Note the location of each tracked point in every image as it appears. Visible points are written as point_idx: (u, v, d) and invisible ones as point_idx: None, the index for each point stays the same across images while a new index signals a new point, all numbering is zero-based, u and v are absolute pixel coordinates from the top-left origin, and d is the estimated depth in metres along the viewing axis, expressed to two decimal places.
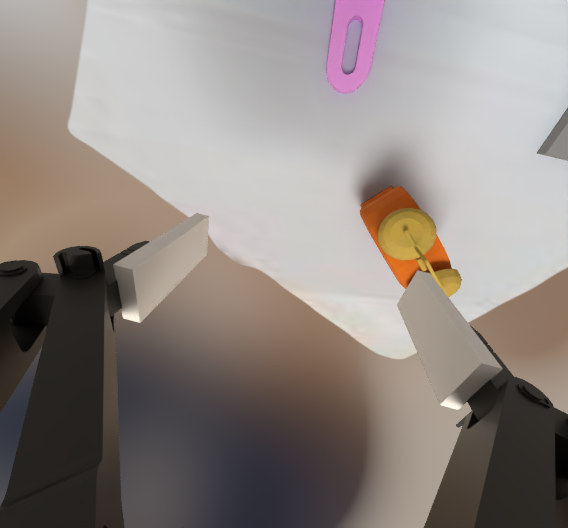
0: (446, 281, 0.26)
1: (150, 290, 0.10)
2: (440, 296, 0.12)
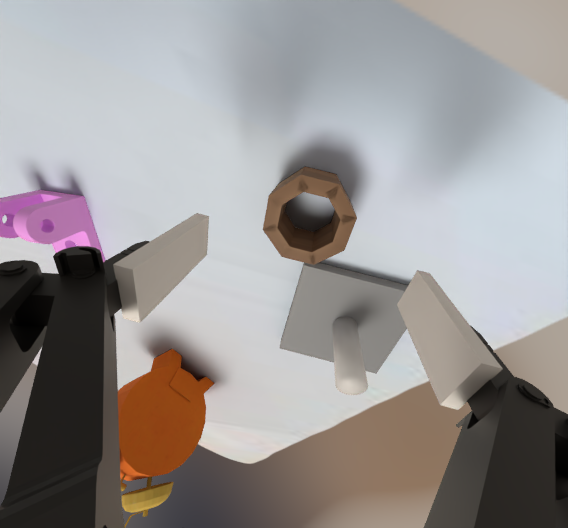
0: (134, 506, 0.28)
1: (150, 290, 0.10)
2: (440, 296, 0.12)
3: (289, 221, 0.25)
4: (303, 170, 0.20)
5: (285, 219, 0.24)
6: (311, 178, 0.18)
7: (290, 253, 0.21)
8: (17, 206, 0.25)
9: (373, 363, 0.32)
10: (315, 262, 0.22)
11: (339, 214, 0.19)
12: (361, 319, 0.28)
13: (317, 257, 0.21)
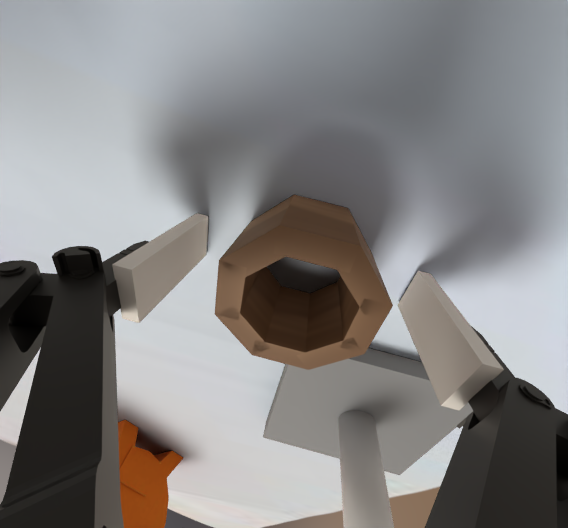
0: None
1: (149, 290, 0.10)
2: (441, 296, 0.12)
3: (270, 279, 0.15)
4: (288, 208, 0.11)
5: (262, 280, 0.14)
6: (301, 233, 0.09)
7: (266, 351, 0.12)
8: None
9: (396, 464, 0.22)
10: (311, 367, 0.12)
11: (357, 298, 0.10)
12: (382, 415, 0.19)
13: (315, 360, 0.12)
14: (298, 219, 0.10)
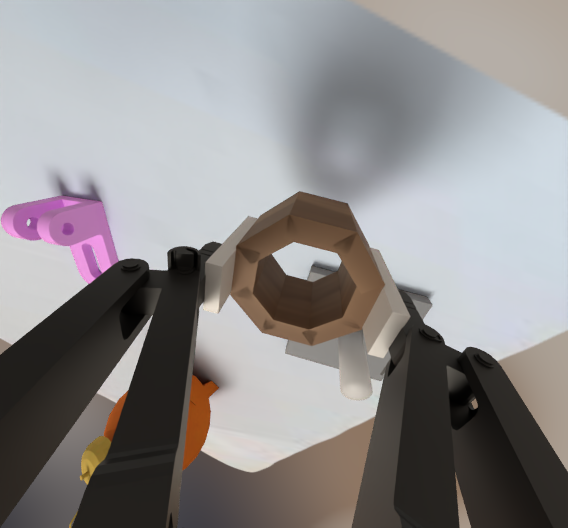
0: None
1: (226, 285, 0.11)
2: (380, 266, 0.13)
3: (277, 268, 0.17)
4: (295, 201, 0.12)
5: (270, 268, 0.16)
6: (307, 221, 0.10)
7: (275, 328, 0.14)
8: (40, 210, 0.26)
9: (378, 370, 0.32)
10: (314, 343, 0.14)
11: (355, 278, 0.11)
12: None
13: (318, 336, 0.13)
14: (304, 210, 0.11)
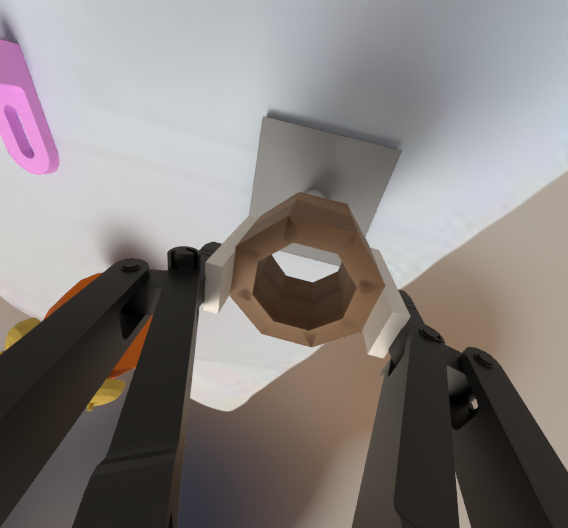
0: None
1: (226, 285, 0.11)
2: (380, 266, 0.13)
3: (276, 269, 0.17)
4: (295, 202, 0.12)
5: (270, 269, 0.16)
6: (307, 221, 0.10)
7: (274, 330, 0.14)
8: None
9: None
10: (314, 344, 0.14)
11: (355, 279, 0.11)
12: (330, 191, 0.26)
13: (318, 337, 0.13)
14: (304, 211, 0.11)
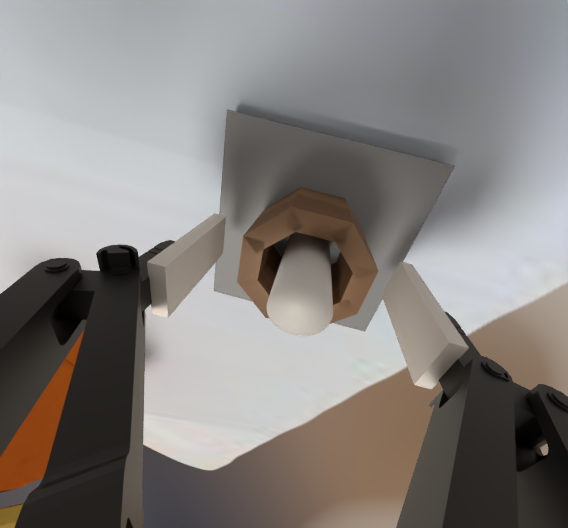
0: None
1: (177, 287, 0.11)
2: (419, 285, 0.12)
3: (279, 260, 0.18)
4: (297, 196, 0.13)
5: (273, 259, 0.17)
6: (308, 212, 0.11)
7: None
8: None
9: (359, 313, 0.20)
10: None
11: (351, 265, 0.12)
12: None
13: None
14: (305, 203, 0.12)
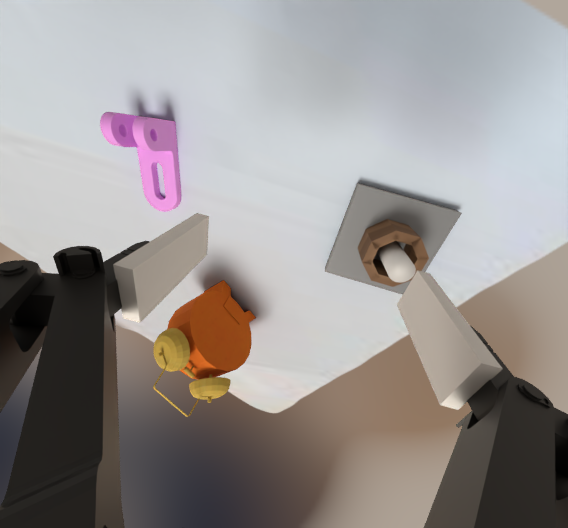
0: (203, 389, 0.32)
1: (150, 290, 0.10)
2: (440, 296, 0.12)
3: None
4: (391, 224, 0.30)
5: None
6: (402, 233, 0.28)
7: (377, 278, 0.31)
8: (128, 121, 0.30)
9: None
10: (394, 285, 0.32)
11: (417, 255, 0.29)
12: None
13: (396, 282, 0.31)
14: (398, 228, 0.29)
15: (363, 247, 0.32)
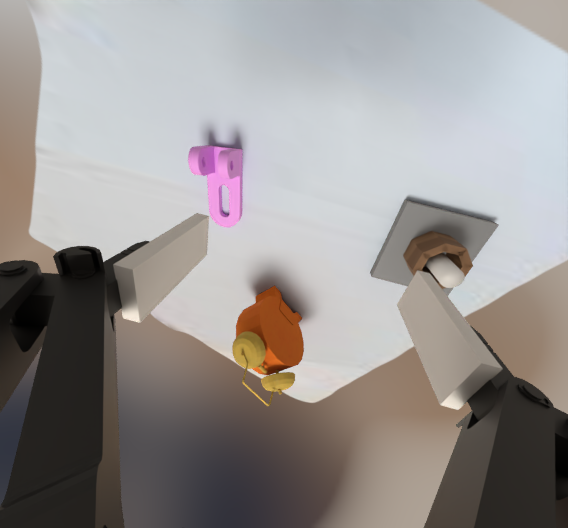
0: (277, 383, 0.37)
1: (150, 290, 0.10)
2: (440, 296, 0.12)
3: None
4: (438, 237, 0.35)
5: None
6: (451, 245, 0.33)
7: None
8: (206, 152, 0.34)
9: None
10: None
11: (462, 263, 0.34)
12: None
13: (442, 286, 0.36)
14: (446, 241, 0.34)
15: (411, 256, 0.37)
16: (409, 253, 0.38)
